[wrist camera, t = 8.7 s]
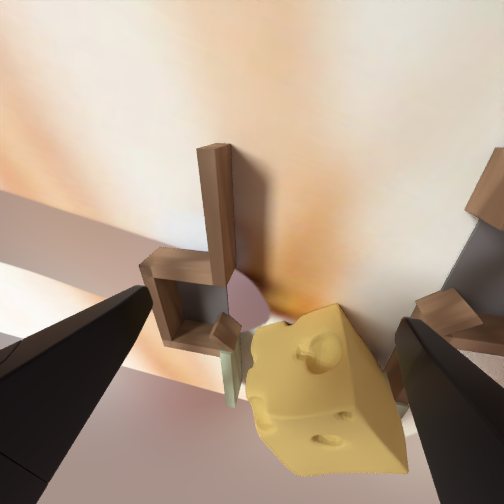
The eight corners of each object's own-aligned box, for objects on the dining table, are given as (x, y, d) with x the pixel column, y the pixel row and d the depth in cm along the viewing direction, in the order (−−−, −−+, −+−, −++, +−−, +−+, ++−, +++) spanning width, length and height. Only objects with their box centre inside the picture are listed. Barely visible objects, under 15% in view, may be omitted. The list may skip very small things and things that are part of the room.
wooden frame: (669, 150, 12) (794, 161, 9) (436, 419, 28) (452, 458, 25) (133, 142, 18) (97, 147, 15) (189, 369, 34) (177, 394, 31)
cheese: (254, 326, 27) (230, 422, 18) (342, 296, 22) (365, 407, 14) (298, 377, 30) (296, 478, 22) (384, 361, 25) (422, 482, 17)
